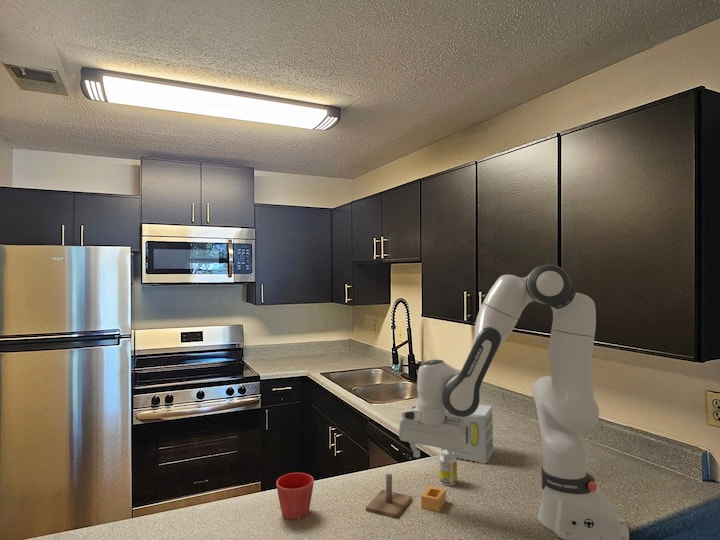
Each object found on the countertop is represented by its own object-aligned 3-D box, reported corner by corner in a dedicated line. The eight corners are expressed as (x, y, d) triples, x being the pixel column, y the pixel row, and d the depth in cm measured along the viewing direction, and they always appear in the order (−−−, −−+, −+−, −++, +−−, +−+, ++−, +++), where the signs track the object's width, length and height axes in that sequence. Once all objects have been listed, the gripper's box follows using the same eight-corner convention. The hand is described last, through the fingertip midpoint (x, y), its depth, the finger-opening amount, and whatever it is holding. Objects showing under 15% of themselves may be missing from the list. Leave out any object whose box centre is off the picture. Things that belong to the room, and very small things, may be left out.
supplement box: (440, 457, 174) (439, 409, 175) (450, 445, 186) (449, 400, 186) (486, 465, 167) (485, 415, 167) (494, 452, 178) (493, 405, 178)
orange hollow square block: (445, 501, 141) (445, 489, 141) (438, 511, 135) (438, 499, 135) (428, 497, 143) (428, 486, 143) (421, 507, 137) (421, 496, 137)
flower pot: (317, 519, 132) (317, 485, 132) (278, 526, 128) (278, 491, 129) (310, 501, 142) (310, 470, 142) (274, 507, 139) (274, 475, 139)
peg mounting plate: (411, 499, 142) (411, 470, 142) (397, 518, 131) (396, 486, 131) (382, 492, 147) (381, 464, 147) (365, 510, 136) (365, 480, 136)
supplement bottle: (454, 478, 156) (453, 448, 156) (459, 485, 151) (458, 454, 151) (438, 479, 156) (437, 448, 156) (442, 486, 150) (442, 455, 150)
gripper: (468, 416, 137) (468, 462, 137) (404, 406, 147) (404, 450, 147) (463, 422, 132) (463, 470, 132) (396, 412, 141) (396, 457, 141)
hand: (431, 459), depth 139 cm, fingers open, 8 cm apart
